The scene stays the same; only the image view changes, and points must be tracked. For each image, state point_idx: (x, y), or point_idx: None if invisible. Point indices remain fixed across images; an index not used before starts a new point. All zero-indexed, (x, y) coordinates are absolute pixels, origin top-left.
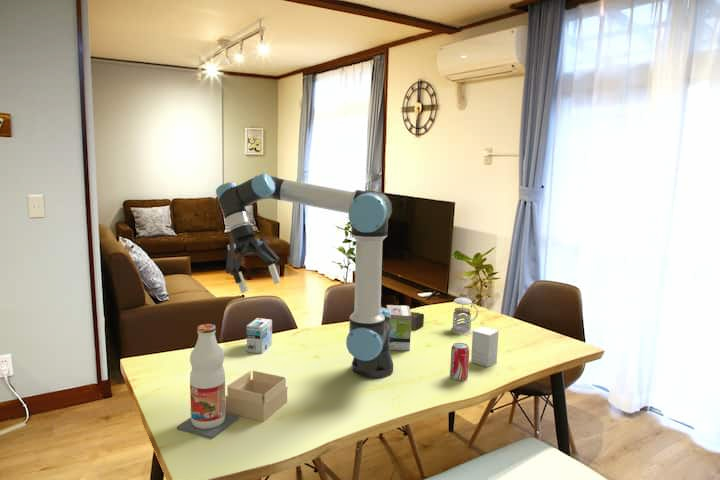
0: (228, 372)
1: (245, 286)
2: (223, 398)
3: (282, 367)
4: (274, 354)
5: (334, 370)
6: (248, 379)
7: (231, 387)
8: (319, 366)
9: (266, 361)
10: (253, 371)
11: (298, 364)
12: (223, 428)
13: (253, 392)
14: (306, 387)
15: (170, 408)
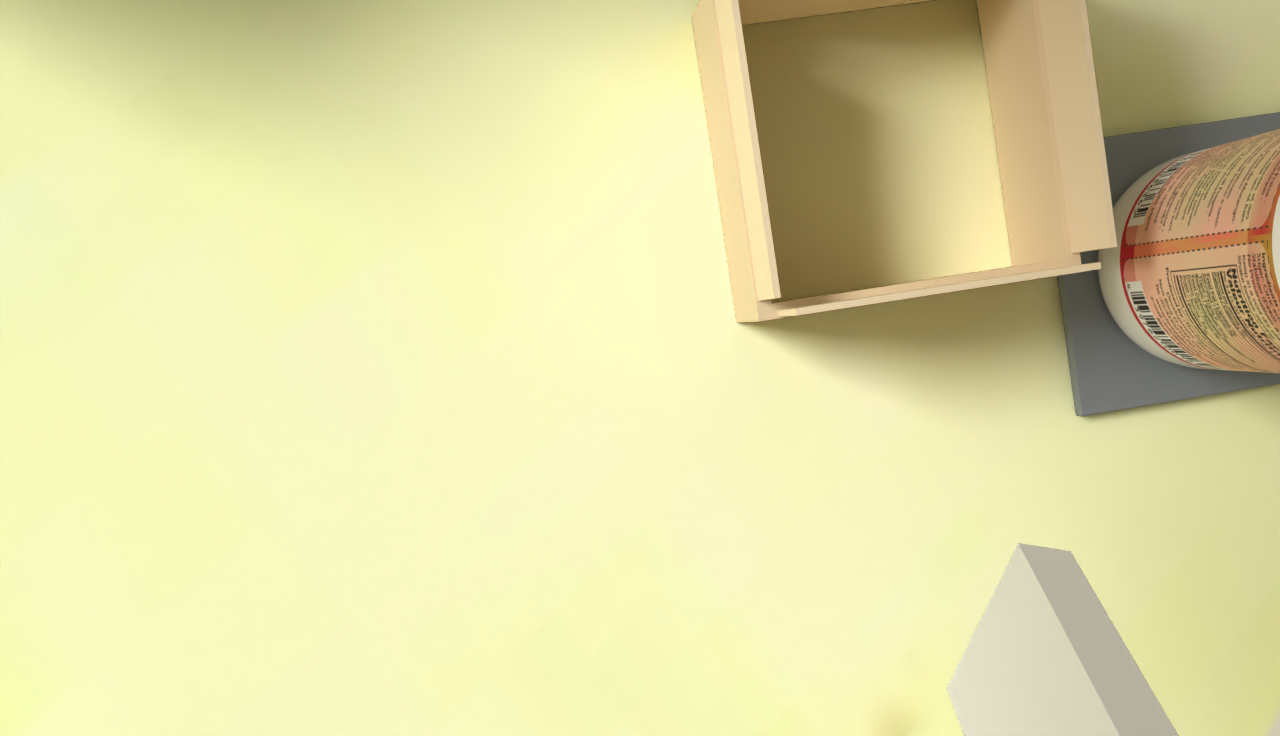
0: (561, 731)
1: (1084, 621)
2: (1271, 131)
3: (226, 439)
4: (35, 690)
5: (7, 23)
6: (810, 305)
7: (1109, 215)
8: (14, 184)
9: (206, 638)
10: (779, 288)
11: (90, 365)
12: (1196, 125)
13: (1080, 10)
14: (421, 36)
15: (1180, 613)
